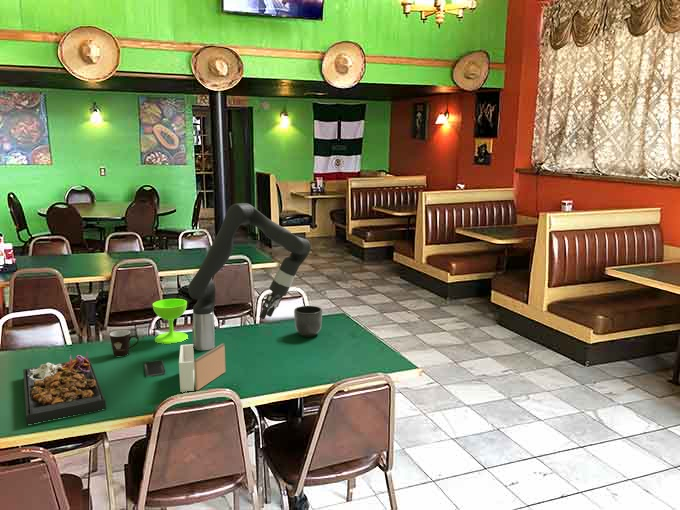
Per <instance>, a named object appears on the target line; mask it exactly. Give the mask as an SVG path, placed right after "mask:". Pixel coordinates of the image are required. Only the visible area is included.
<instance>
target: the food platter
mask: <svg viewBox="0 0 680 510" xmlns="http://www.w3.org/2000/svg"><path fill="white" fill-rule="evenodd" d="M86 353H88V350H86ZM22 372H23V387H24V403H25V417H26V426H27V425H28V424H34V423H38V422H43V421H48V420H53V419H58V418H63V417H68V416H73V415H78V414H83V415H85V414H84V413H88V414H90V413H89V412H93V413H95V412H94V411H97V412H99V411H98V410H102V409H106V410H107V408H106V407H107V406H106V405H107V404H106V398H105V397H104V393H103V392H102V391H103V390H102V389H101V386H100V383H99V380H98V378H97V376H96V372H95V370H94V367H93V364H92V362H91V359H90V358H88V354H86V356H82V355H79V354H77V355H76V357H75V358H74V359H72V355H71V354H69V361H67V362H66V361H65V362H60V363H51V362H46V363H45V364H44V363H43V364H40V365H39V366H36V367H31V368H30V367H29V368H24V369H23V370H22ZM102 411H103V410H102Z"/></svg>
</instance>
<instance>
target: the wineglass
mask: <svg viewBox="0 0 680 510" xmlns="http://www.w3.org/2000/svg"><path fill="white" fill-rule="evenodd" d="M187 304H188V301H187V300H185V299H181V298H166V299H160V300H156V301H154V302H153V303H152V309H153V312H154V313H155V314H156V315H157V316H158V317H159V318H160V319H162V320H166V321H167V320H168V328H169V329H168V332H163V333H161V334H159V335H157V336H156V337H155V338H154V342H155V343H156V342H157V343H156V344H158V343H162V344H161V345H164V344H170V345H172V344H171V343H177V342H182V341H184V340H186V339H188V340H189V338H188V336H189V335H188V334H187V333H185V332H181V331H174V320H176V319H178V318H180V317H181V316H183V315H184V313H185V312H186V309H187ZM186 341H187V340H186ZM184 342H185V341H184ZM163 343H164V344H163ZM182 343H183V342H182Z"/></svg>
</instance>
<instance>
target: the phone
mask: <svg viewBox="0 0 680 510" xmlns="http://www.w3.org/2000/svg"><path fill="white" fill-rule="evenodd" d="M163 361H164V360H161V359H160V360H153V361H145V362H143V368H144V374H145V375H146V376H152V377H157V376H156V375H159V376H164V375H166V369H165V366H164V365H165V364H164V362H163ZM146 376H145V377H146Z"/></svg>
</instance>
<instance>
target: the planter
mask: <svg viewBox="0 0 680 510" xmlns="http://www.w3.org/2000/svg"><path fill="white" fill-rule="evenodd" d="M293 315H294V316H293V317H294V326H295V330H296V332H298V334H299V335H300V336H301V337H306V338H311V337H315V336H317V334H319V332H320V331H321V329H322V322H323V309H322V308H321V307H319V306H316V305H315V306H314V305H302V306H298V307H296V308H294V311H293Z"/></svg>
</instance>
